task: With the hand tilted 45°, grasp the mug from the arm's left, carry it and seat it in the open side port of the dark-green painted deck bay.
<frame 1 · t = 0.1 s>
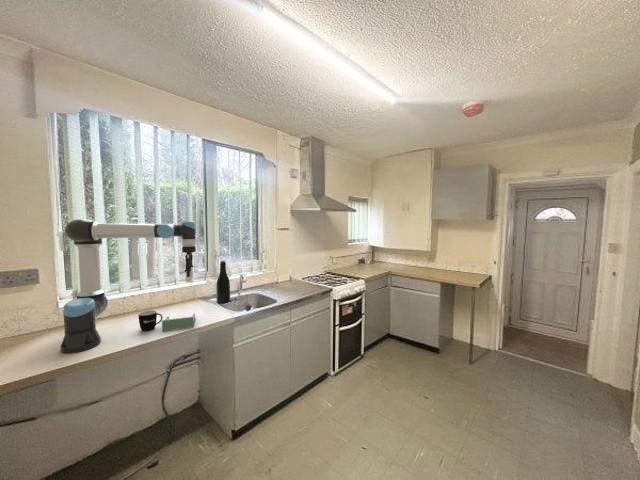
hand: (189, 279, 162), 28 cm above the countertop, tool pointing down, fingers open, 13 cm apart
deck bay: (179, 324, 163), on the countertop
beer bottle: (223, 301, 210), on the countertop
mug: (151, 329, 155), on the countertop
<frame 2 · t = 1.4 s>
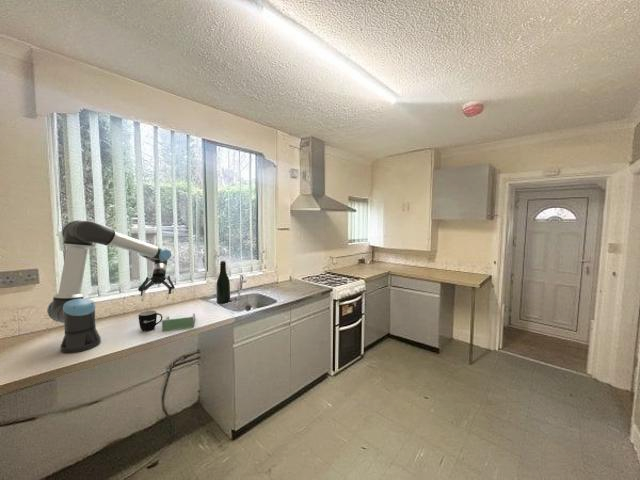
hand: (155, 299, 164), 15 cm above the countertop, tool tilted 45°, fingers open, 13 cm apart
nothing on the countertop moved.
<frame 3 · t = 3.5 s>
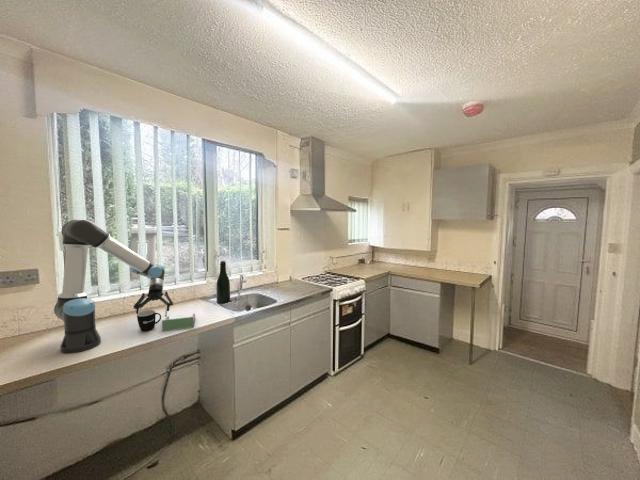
hand: (152, 317, 156), 6 cm above the countertop, tool tilted 45°, fingers open, 13 cm apart
mug: (150, 328, 155), on the countertop, touching gripper
everything else where it was.
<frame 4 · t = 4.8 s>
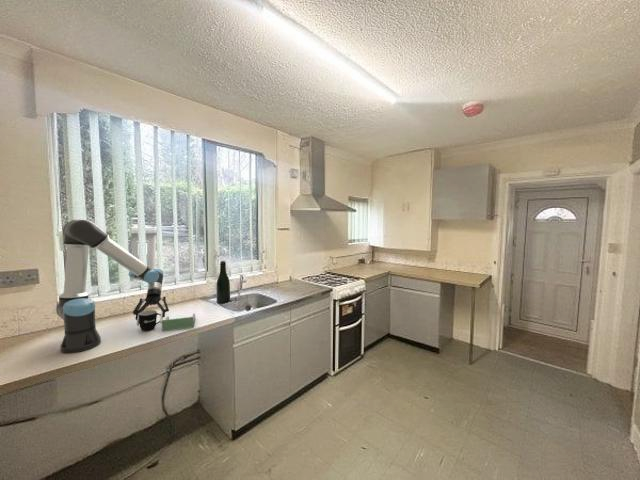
hand: (149, 323, 152), 4 cm above the countertop, tool tilted 45°, fingers closed on mug, 11 cm apart
mug: (150, 328, 155), on the countertop, touching gripper
everything else where it was.
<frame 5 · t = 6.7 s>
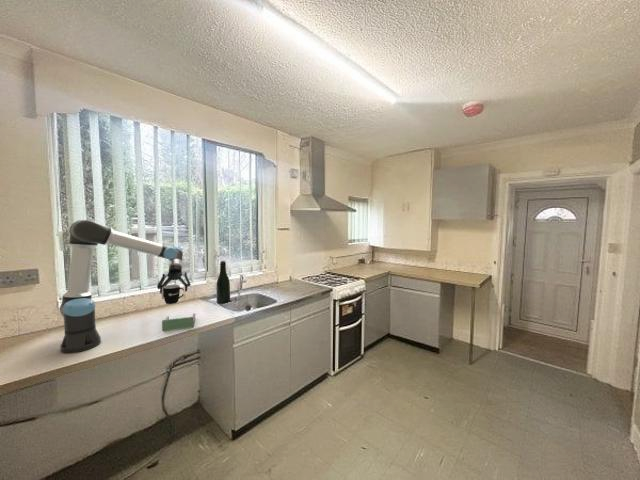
hand: (173, 296, 159), 18 cm above the countertop, tool tilted 45°, fingers closed on mug, 11 cm apart
mug: (174, 302, 162), point 14 cm above the countertop, touching gripper
everything else where it was.
when the fingers open (7 cm above the countertop, at t = 9.1 s): mug drops 1 cm, resting on deck bay.
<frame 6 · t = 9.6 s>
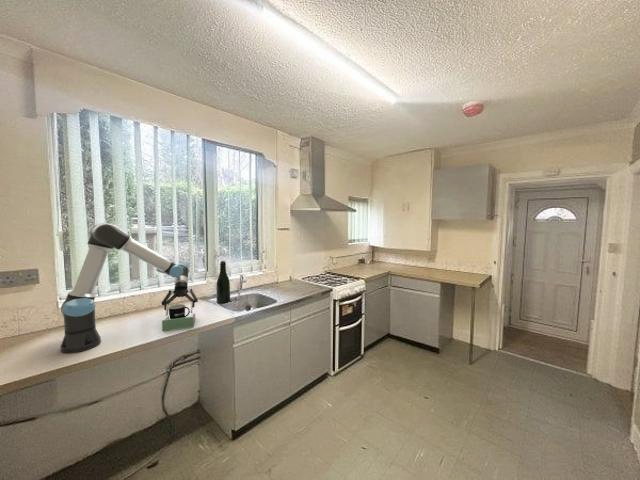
hand: (179, 313, 161), 7 cm above the countertop, tool tilted 45°, fingers open, 13 cm apart
mug: (180, 321, 164), point 1 cm above the countertop, touching deck bay
everything else where it was.
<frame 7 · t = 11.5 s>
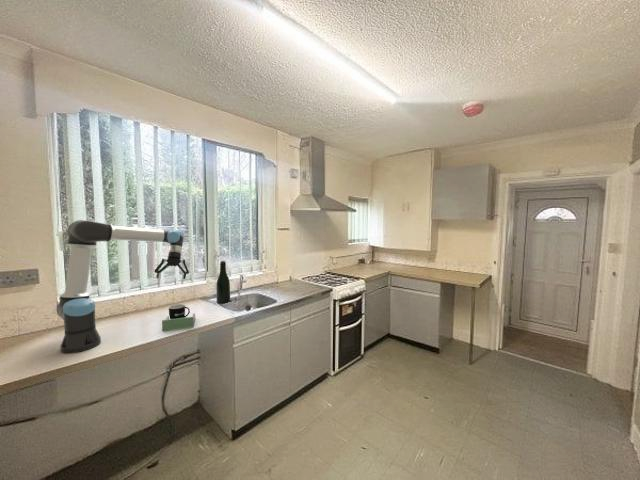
hand: (170, 283, 170), 23 cm above the countertop, tool tilted 25°, fingers open, 13 cm apart
nothing on the countertop moved.
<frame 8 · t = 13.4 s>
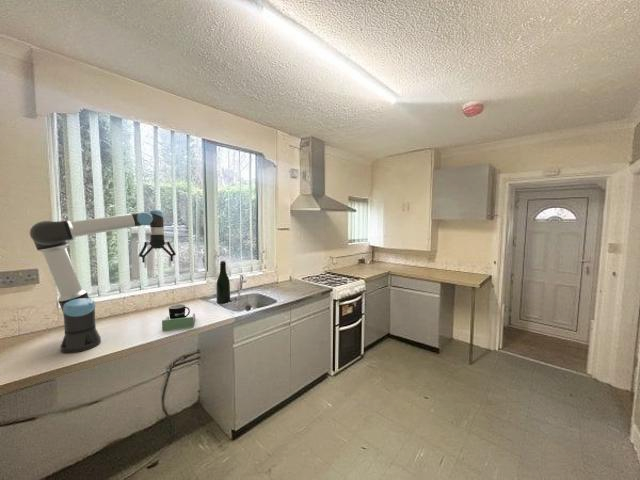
hand: (158, 267, 168), 35 cm above the countertop, tool pointing down, fingers open, 13 cm apart
nothing on the countertop moved.
at the end: mug inside the target area on the deck bay (0.2 cm from its centre), point 1.0 cm above the deck bay's base; mug tilted 0°; the gripper is holding nothing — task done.
